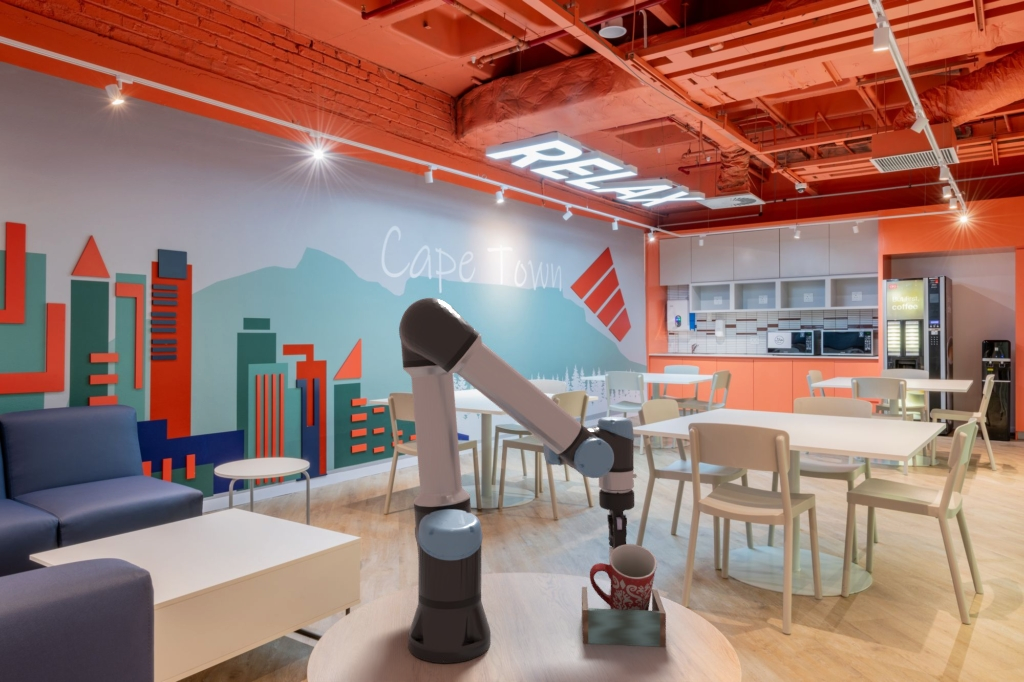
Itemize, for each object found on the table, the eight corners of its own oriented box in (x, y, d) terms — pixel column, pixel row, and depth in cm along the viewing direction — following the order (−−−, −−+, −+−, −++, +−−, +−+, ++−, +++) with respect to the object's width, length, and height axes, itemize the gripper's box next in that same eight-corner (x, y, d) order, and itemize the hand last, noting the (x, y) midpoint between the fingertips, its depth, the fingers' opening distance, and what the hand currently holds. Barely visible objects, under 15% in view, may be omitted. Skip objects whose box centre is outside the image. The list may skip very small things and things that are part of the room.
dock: (582, 643, 118) (582, 610, 118) (581, 616, 130) (581, 586, 130) (665, 646, 117) (665, 613, 117) (657, 619, 129) (657, 589, 129)
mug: (650, 595, 132) (654, 544, 126) (654, 631, 124) (659, 579, 118) (589, 591, 134) (590, 541, 128) (588, 627, 125) (590, 575, 120)
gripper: (640, 503, 126) (642, 611, 126) (628, 477, 151) (630, 568, 151) (602, 502, 127) (603, 610, 127) (596, 477, 152) (598, 567, 152)
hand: (618, 587), depth 139 cm, fingers open, 13 cm apart
